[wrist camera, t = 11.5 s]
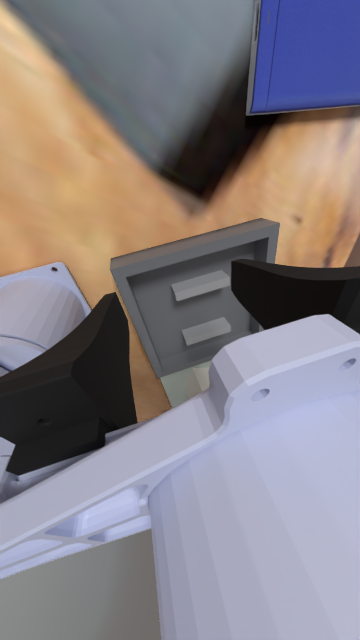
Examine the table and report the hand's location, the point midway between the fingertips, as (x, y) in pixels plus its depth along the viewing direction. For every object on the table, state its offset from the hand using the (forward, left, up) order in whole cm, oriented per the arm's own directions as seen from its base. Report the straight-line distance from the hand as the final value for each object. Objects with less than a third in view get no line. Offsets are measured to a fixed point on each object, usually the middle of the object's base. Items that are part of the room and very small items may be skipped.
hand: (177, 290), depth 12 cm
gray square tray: (+4, -8, -9) cm, 13 cm away
